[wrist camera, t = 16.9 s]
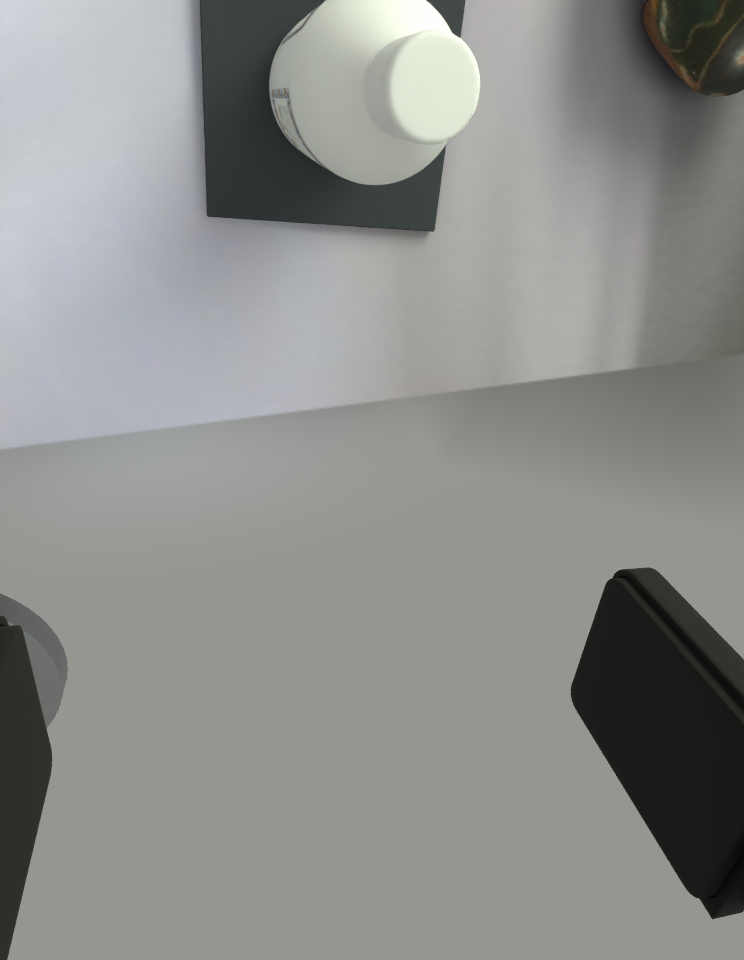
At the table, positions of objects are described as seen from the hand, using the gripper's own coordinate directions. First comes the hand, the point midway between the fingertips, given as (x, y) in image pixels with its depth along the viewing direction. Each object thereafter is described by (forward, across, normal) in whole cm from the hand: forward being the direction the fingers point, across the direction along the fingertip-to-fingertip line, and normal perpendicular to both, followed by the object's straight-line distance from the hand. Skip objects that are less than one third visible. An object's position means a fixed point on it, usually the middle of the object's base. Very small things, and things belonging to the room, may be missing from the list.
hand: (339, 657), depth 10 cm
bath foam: (+34, -5, -9) cm, 35 cm away
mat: (+34, -5, -9) cm, 36 cm away
